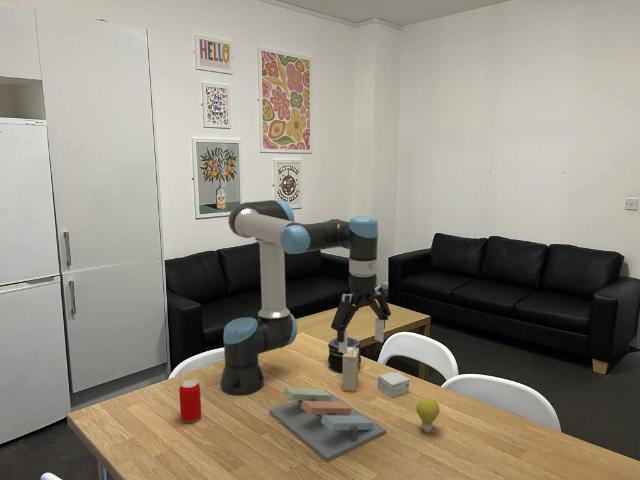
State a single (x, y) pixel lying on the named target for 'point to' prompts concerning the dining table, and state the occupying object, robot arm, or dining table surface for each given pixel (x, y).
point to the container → (337, 356)
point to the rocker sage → (306, 394)
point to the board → (324, 430)
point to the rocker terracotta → (325, 407)
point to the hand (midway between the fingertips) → (361, 346)
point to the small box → (393, 384)
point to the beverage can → (190, 401)
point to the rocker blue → (346, 422)
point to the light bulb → (427, 412)
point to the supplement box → (350, 369)
